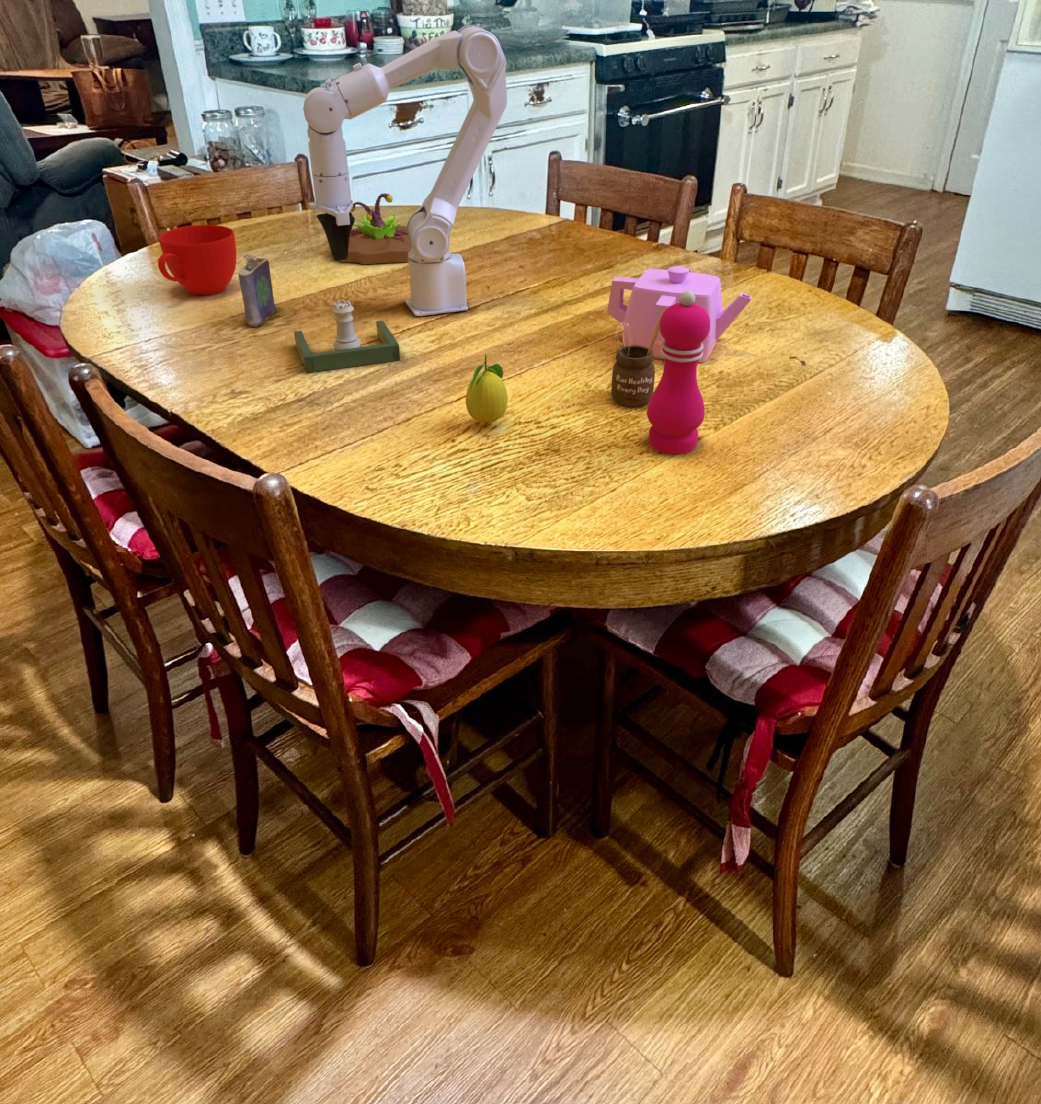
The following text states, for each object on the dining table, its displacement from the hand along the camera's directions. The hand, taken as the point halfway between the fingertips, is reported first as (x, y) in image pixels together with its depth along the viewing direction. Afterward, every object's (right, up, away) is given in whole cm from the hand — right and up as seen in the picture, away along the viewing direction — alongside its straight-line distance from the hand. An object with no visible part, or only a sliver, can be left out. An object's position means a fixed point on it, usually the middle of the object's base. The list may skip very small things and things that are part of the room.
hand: (340, 258), depth 151 cm
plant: (+1, +14, +36) cm, 39 cm away
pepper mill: (+50, -35, -34) cm, 70 cm away
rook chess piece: (+3, -18, -9) cm, 20 cm away
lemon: (+26, -32, -30) cm, 51 cm away
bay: (+3, -18, -9) cm, 20 cm away
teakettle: (+55, -16, -7) cm, 58 cm away
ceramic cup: (-29, -2, +14) cm, 32 cm away
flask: (-14, -9, +4) cm, 17 cm away
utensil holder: (+46, -28, -23) cm, 58 cm away
